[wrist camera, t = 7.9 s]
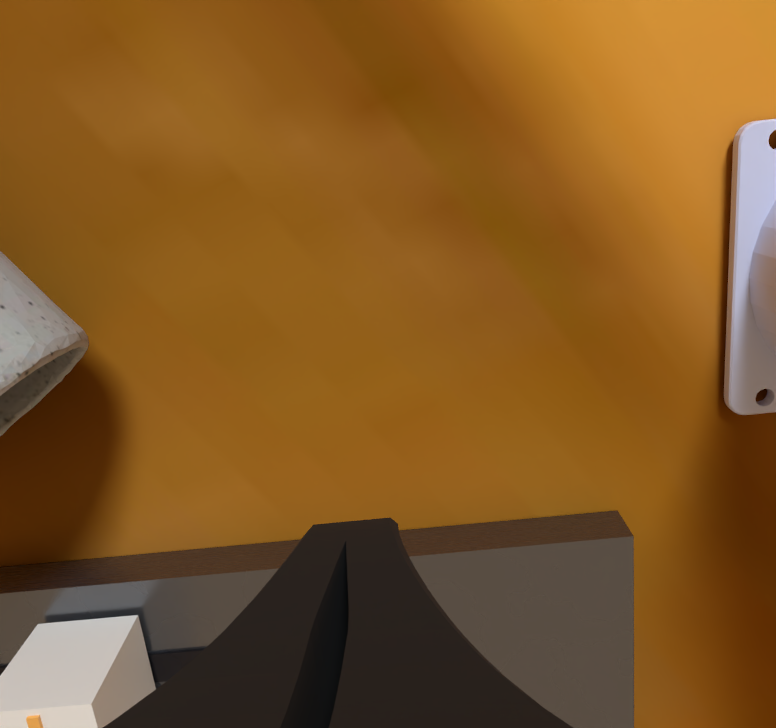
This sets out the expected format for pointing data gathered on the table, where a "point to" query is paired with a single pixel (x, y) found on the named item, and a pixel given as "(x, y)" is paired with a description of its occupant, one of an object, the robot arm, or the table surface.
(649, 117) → the table surface
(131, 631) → the fader
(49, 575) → the console
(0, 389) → the ceramic mug
